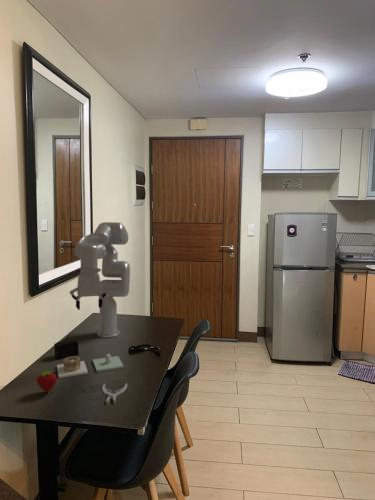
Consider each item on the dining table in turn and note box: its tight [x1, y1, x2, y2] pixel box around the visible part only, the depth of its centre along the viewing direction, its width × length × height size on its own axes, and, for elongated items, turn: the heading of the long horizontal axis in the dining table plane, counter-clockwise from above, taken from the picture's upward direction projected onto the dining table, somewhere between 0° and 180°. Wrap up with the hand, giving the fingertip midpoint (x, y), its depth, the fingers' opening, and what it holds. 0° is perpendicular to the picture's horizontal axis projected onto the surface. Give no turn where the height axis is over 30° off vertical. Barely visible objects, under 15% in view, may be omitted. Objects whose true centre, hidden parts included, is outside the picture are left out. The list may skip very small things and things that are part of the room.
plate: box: [92, 353, 125, 373], centre depth 172 cm, size 12×12×5 cm
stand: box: [56, 360, 89, 379], centre depth 166 cm, size 12×12×4 cm
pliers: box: [101, 382, 128, 404], centre depth 146 cm, size 10×2×15 cm
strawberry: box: [36, 370, 58, 393], centre depth 145 cm, size 6×8×10 cm
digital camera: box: [54, 339, 79, 361], centre depth 181 cm, size 10×5×7 cm, turn 126°
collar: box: [62, 356, 81, 372], centre depth 165 cm, size 7×7×4 cm
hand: (89, 308), depth 171 cm, fingers open, 9 cm apart
